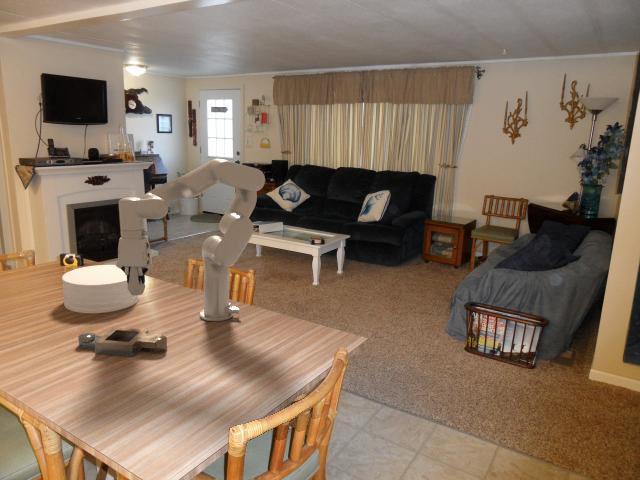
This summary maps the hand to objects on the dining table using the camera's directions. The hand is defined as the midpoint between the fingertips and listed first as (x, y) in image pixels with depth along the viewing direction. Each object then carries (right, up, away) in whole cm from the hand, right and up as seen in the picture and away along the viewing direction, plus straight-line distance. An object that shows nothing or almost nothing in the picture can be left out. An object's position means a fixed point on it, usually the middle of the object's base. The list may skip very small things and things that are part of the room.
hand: (136, 284), depth 165 cm
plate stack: (-25, -10, +30) cm, 40 cm away
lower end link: (-4, -19, -10) cm, 22 cm away
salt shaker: (0, -3, +1) cm, 3 cm away
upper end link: (+4, -20, -11) cm, 23 cm away
